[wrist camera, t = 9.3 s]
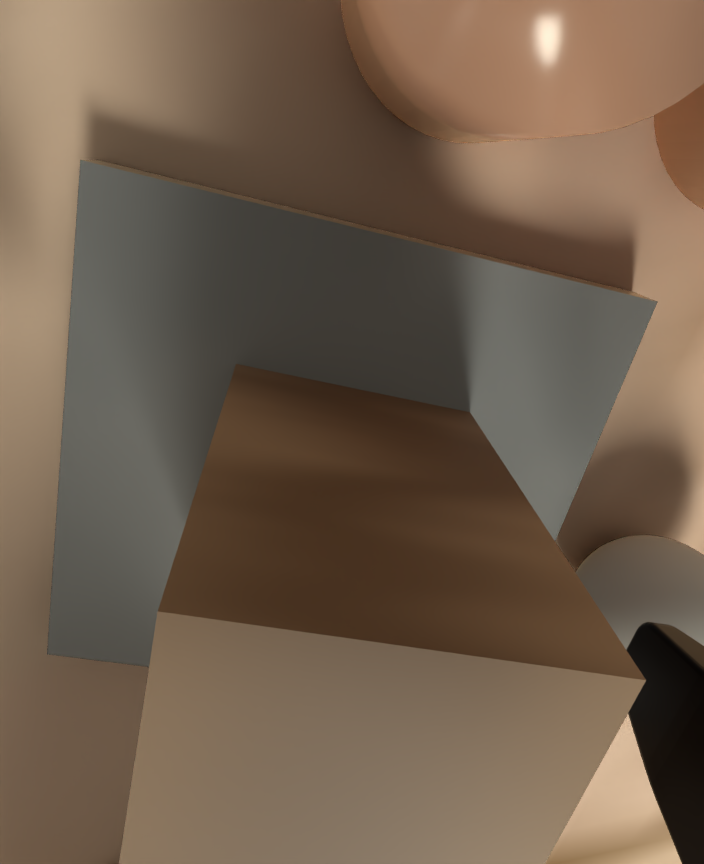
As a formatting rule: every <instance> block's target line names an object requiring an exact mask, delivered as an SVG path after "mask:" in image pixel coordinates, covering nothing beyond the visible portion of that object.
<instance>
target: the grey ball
mask: <svg viewBox="0 0 704 864" xmlns="http://www.w3.org/2000/svg"><path fill="white" fill-rule="evenodd" d="M575 573H576V574H577V576H578V577H579V579H580V580H581V582H582V583H583V585H584V586H585V588H586V589H587V591H588V593H589V594H590V596H591V597H592V599H593V600H594V602H595V603H596V605H597V606H598V608H599V609H600V611H601V612H602V614H603V615H604V617H605V618H606V620H607V621H608V623H609V625H610V626H611V628H612V629H613V631H614V632H615V634H616V635H617V637H618V638H619V640H620V641H621V643H622V644H623V646H624V647H625V649H627V647H628V645H629V643H630V642H631V640H632V638H633V636H634V634H635V632H636V630H637V628H638V627H639V626H640V625H641V624H643V623H645V622H654V623H661V624H668V625H671V626H674V627H676V628H677V629H679V630H681V631H682V632H684V633H685V634H687V635H688V636H690V637H691V638H693V639H694V640H696V641H697V642H699V643H700V644H702V645H703V646H704V555H703V554H701V553H700V552H698V551H696V550H695V549H693V548H691V547H690V546H688V545H686V544H683V543H681V542H678V541H676V540H673V539H669V538H665V537H660V536H653V535H634V536H627V537H623V538H619V539H616V540H613V541H611V542H609V543H606V544H604V545H603V546H601V547H599V548H598V549H596V550H595V551H594V552H592V553H591V554H590V555H589V556H588V557H587V558H586V559H585V560H584V561H583V562H582V563H581V565H580V566H579V567H578V569H577V570H576V572H575Z"/></svg>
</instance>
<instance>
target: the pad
mask: <svg viewBox="0 0 704 864" xmlns="http://www.w3.org/2000/svg"><path fill="white" fill-rule="evenodd" d="M656 304H657V301H655V300H652V299H650V298H647V297H645V296H642V295H640V294H637V293H635V292H632V291H628V290H624V289H620V288H616V287H611V286H607V285H603V284H599V283H595V282H591V281H587V280H583V279H579V278H575V277H571V276H567V275H563V274H559V273H555V272H551V271H547V270H543V269H539V268H535V267H530V266H526V265H522V264H518V263H514V262H510V261H506V260H502V259H498V258H494V257H490V256H486V255H482V254H478V253H474V252H470V251H466V250H462V249H458V248H454V247H449V246H445V245H441V244H437V243H433V242H429V241H425V240H421V239H417V238H413V237H409V236H405V235H401V234H397V233H393V232H389V231H385V230H381V229H377V228H373V227H368V226H364V225H360V224H356V223H352V222H348V221H344V220H340V219H336V218H332V217H328V216H324V215H320V214H316V213H312V212H308V211H304V210H300V209H296V208H292V207H287V206H283V205H279V204H275V203H271V202H267V201H263V200H259V199H255V198H251V197H247V196H243V195H239V194H235V193H231V192H227V191H223V190H219V189H215V188H211V187H206V186H202V185H198V184H194V183H190V182H186V181H182V180H178V179H174V178H170V177H166V176H162V175H158V174H154V173H150V172H146V171H142V170H138V169H134V168H129V167H125V166H121V165H117V164H113V163H109V162H105V161H101V160H80V175H79V189H78V204H77V219H76V234H75V249H74V263H73V278H72V293H71V308H70V322H69V337H68V352H67V367H66V382H65V396H64V411H63V426H62V441H61V455H60V470H59V485H58V500H57V515H56V529H55V544H54V559H53V574H52V588H51V603H50V618H49V633H48V648H47V654H49V655H57V656H65V657H74V658H82V659H90V660H98V661H106V662H114V663H122V664H130V665H138V666H146V667H149V664H150V658H151V651H152V645H153V638H154V632H155V625H156V619H157V612H158V609H159V605H160V602H161V599H162V596H163V593H164V590H165V587H166V583H167V580H168V577H169V574H170V571H171V568H172V564H173V561H174V558H175V555H176V552H177V549H178V545H179V542H180V539H181V536H182V533H183V530H184V527H185V523H186V520H187V517H188V514H189V511H190V508H191V504H192V501H193V498H194V495H195V492H196V489H197V486H198V482H199V479H200V476H201V473H202V470H203V467H204V463H205V460H206V457H207V454H208V451H209V448H210V445H211V441H212V438H213V435H214V432H215V429H216V426H217V422H218V419H219V416H220V413H221V410H222V407H223V404H224V400H225V397H226V394H227V391H228V388H229V385H230V381H231V378H232V375H233V372H234V369H235V366H236V364H240V365H244V366H249V367H254V368H259V369H264V370H268V371H273V372H278V373H283V374H288V375H293V376H297V377H302V378H307V379H312V380H317V381H321V382H326V383H331V384H336V385H341V386H346V387H350V388H355V389H360V390H365V391H370V392H375V393H379V394H384V395H389V396H394V397H399V398H403V399H408V400H413V401H418V402H423V403H428V404H432V405H437V406H442V407H447V408H452V409H457V410H461V411H466V412H470V413H471V414H472V416H473V417H474V419H475V420H476V422H477V424H478V425H479V427H480V428H481V430H482V431H483V433H484V434H485V436H486V437H487V439H488V440H489V442H490V443H491V445H492V446H493V448H494V449H495V451H496V452H497V454H498V456H499V457H500V459H501V460H502V462H503V463H504V465H505V466H506V468H507V469H508V471H509V472H510V474H511V475H512V477H513V478H514V480H515V481H516V483H517V484H518V486H519V487H520V489H521V491H522V492H523V494H524V495H525V497H526V498H527V500H528V501H529V503H530V504H531V506H532V507H533V509H534V510H535V512H536V513H537V515H538V516H539V518H540V519H541V521H542V522H543V524H544V526H545V527H546V529H547V530H548V532H549V533H550V535H551V536H552V538H553V539H554V541H556V538H557V536H558V534H559V531H560V529H561V527H562V524H563V522H564V520H565V517H566V515H567V513H568V510H569V508H570V505H571V503H572V501H573V498H574V496H575V494H576V491H577V489H578V487H579V484H580V482H581V480H582V477H583V475H584V473H585V470H586V468H587V466H588V463H589V461H590V459H591V456H592V454H593V452H594V449H595V447H596V445H597V442H598V440H599V438H600V435H601V433H602V431H603V428H604V426H605V424H606V421H607V419H608V417H609V414H610V412H611V410H612V407H613V405H614V403H615V400H616V398H617V395H618V393H619V391H620V388H621V386H622V384H623V381H624V379H625V377H626V374H627V372H628V370H629V367H630V365H631V363H632V360H633V358H634V356H635V353H636V351H637V349H638V346H639V344H640V342H641V339H642V337H643V335H644V332H645V330H646V328H647V325H648V323H649V321H650V318H651V316H652V314H653V311H654V309H655V307H656Z"/></svg>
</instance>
